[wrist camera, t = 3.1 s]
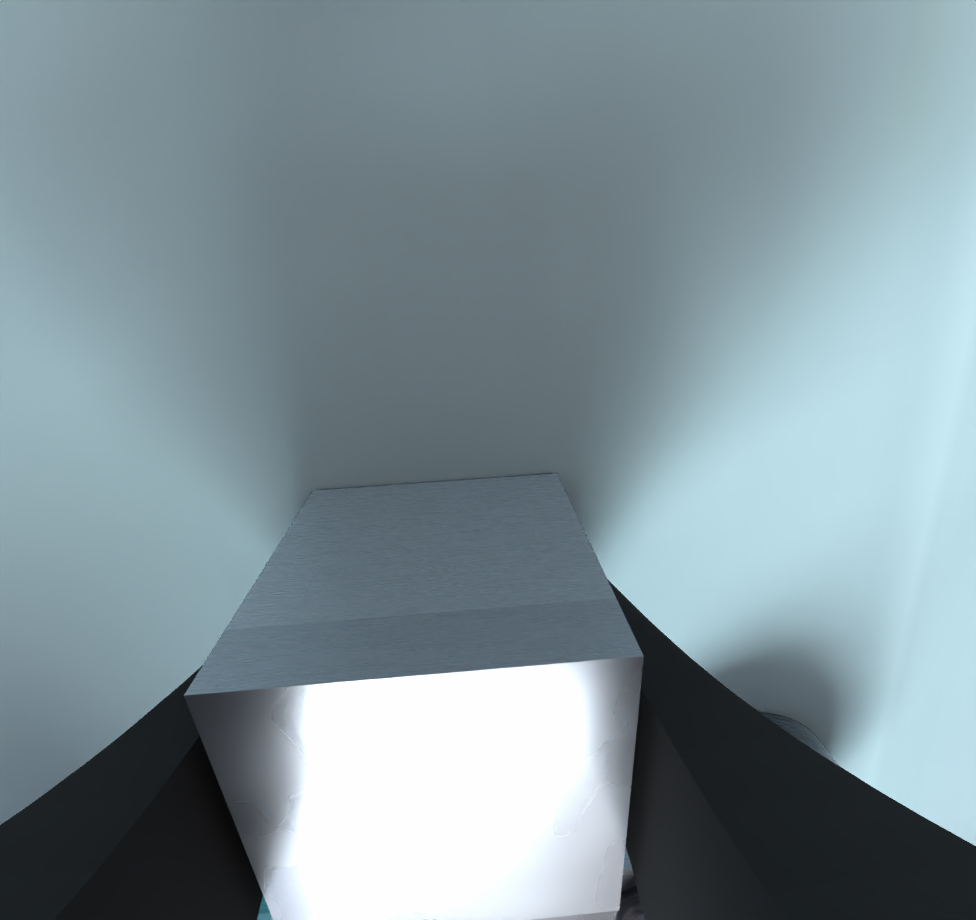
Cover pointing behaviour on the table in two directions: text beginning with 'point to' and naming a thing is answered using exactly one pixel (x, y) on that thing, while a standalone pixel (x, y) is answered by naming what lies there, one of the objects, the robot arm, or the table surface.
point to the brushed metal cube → (428, 708)
